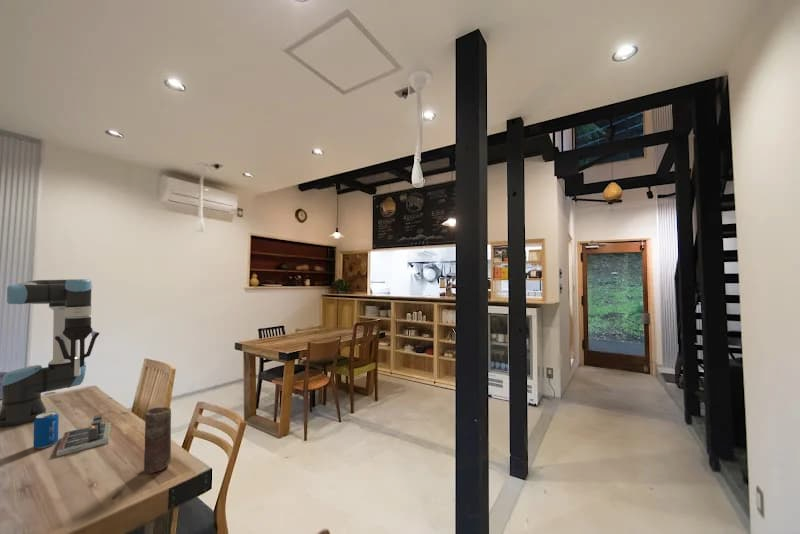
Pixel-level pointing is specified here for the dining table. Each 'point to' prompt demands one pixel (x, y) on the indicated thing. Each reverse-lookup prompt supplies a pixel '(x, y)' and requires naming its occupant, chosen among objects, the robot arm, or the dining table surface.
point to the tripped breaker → (93, 432)
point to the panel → (83, 440)
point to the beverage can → (46, 429)
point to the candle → (157, 439)
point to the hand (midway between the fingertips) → (77, 375)
